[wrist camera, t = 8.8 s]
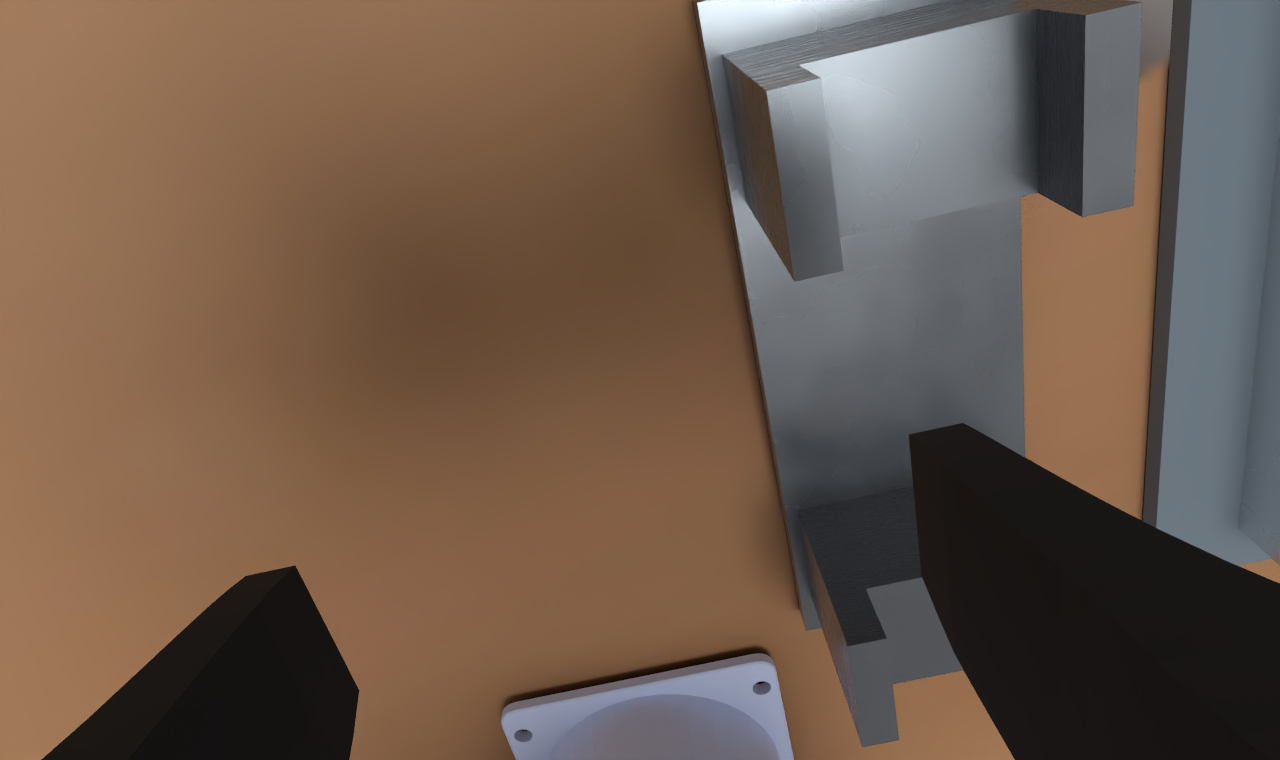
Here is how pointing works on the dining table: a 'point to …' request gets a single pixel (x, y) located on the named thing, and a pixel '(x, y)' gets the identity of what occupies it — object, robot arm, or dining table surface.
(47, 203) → the dining table surface
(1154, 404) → the mat
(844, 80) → the rack
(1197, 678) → the robot arm
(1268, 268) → the rail
